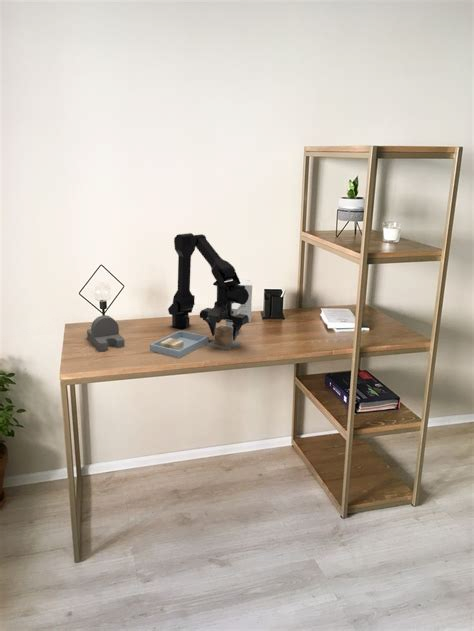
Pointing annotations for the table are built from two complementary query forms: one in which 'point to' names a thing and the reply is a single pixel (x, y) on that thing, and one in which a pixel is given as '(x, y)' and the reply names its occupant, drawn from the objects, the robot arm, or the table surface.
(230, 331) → the walnut box
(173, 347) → the birch box
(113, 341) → the bracket
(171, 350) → the parts bin
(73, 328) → the table surface
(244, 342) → the table surface
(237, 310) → the ink box
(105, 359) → the table surface
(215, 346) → the mat
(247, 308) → the supplement box
